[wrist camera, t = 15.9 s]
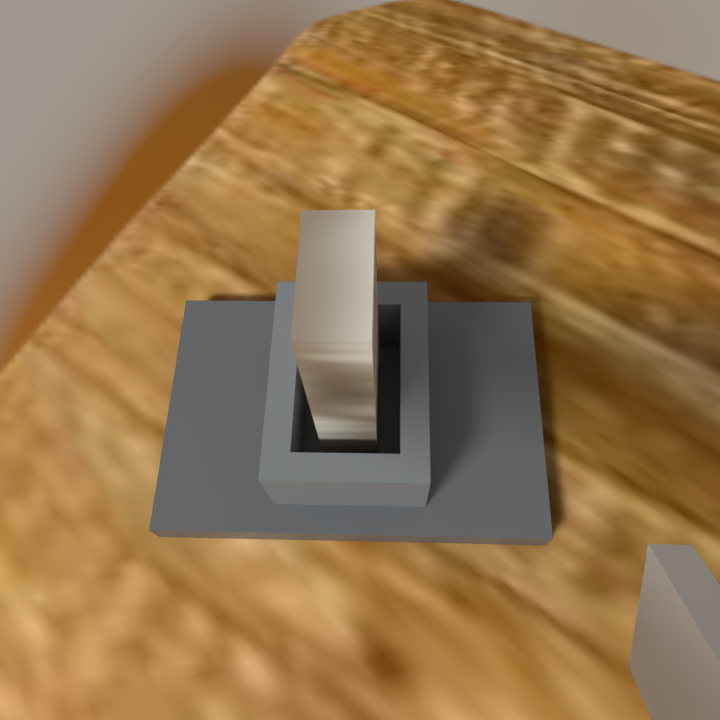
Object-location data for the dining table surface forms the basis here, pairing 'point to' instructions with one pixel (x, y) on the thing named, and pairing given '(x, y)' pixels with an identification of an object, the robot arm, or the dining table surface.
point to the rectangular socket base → (395, 429)
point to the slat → (338, 327)
